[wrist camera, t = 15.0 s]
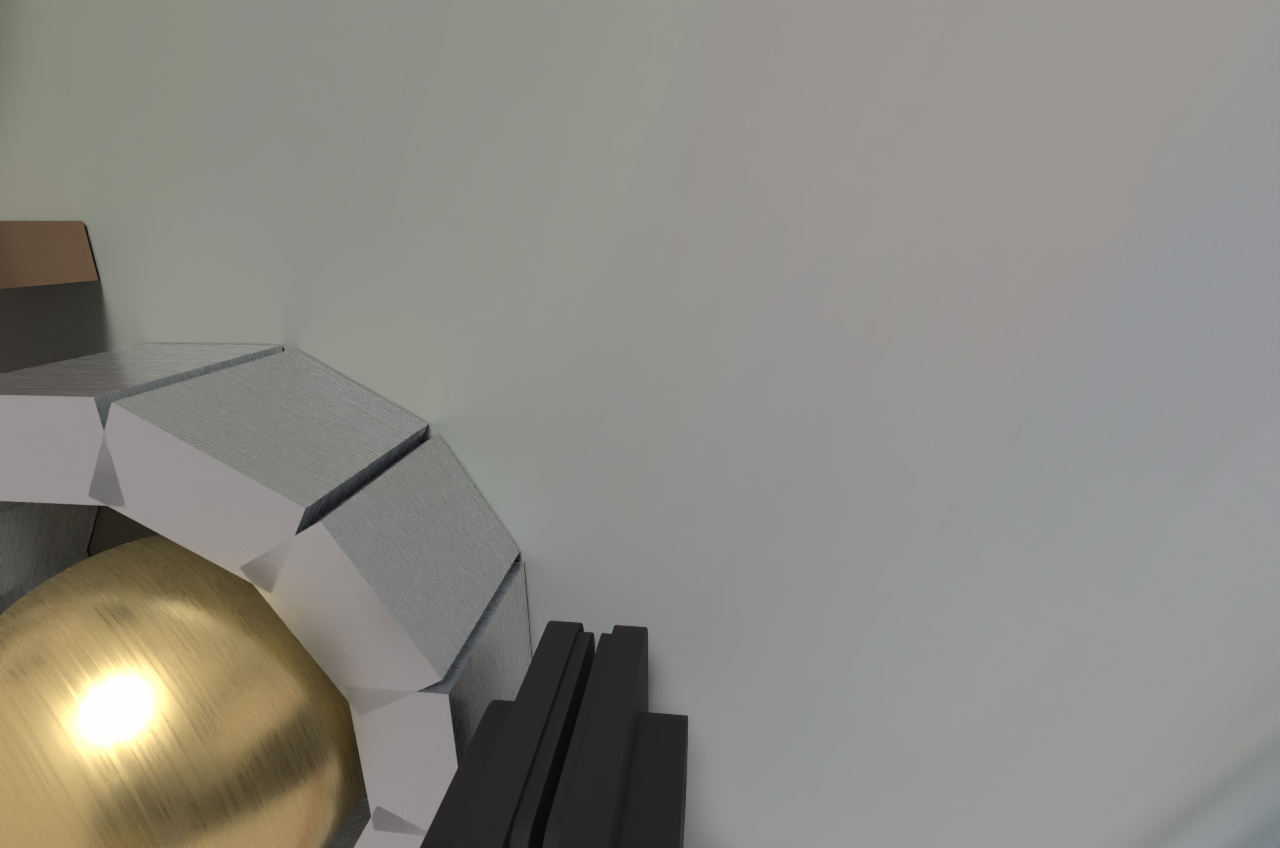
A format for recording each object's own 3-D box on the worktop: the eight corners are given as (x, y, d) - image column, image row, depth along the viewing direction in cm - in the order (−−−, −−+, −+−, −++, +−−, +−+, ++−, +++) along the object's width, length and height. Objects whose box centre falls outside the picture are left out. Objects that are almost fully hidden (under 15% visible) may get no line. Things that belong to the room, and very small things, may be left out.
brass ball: (440, 519, 10) (-146, 841, 5) (483, 794, 12) (101, 1204, 7) (242, 447, 13) (-238, 604, 8) (305, 676, 15) (-45, 908, 10)
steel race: (506, 347, 10) (409, 404, 7) (545, 830, 14) (491, 1019, 11) (-50, 341, 12) (-350, 387, 8) (109, 785, 15) (-61, 941, 12)
